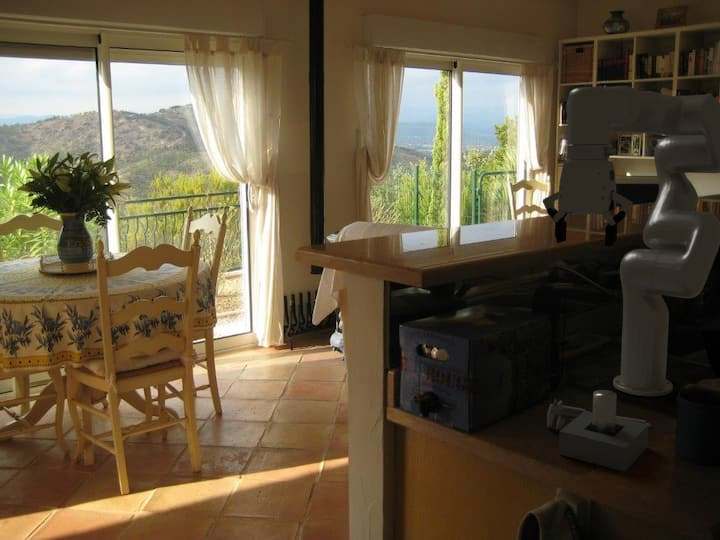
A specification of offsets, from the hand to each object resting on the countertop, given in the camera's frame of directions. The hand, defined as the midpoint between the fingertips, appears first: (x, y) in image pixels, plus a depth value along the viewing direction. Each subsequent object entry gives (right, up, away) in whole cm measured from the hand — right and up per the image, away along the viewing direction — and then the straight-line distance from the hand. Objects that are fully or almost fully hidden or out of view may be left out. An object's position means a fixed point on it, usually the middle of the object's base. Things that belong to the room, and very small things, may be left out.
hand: (584, 243), depth 140 cm
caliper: (+4, -37, +3) cm, 37 cm away
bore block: (+1, -38, -7) cm, 39 cm away
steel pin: (+1, -37, -7) cm, 38 cm away
